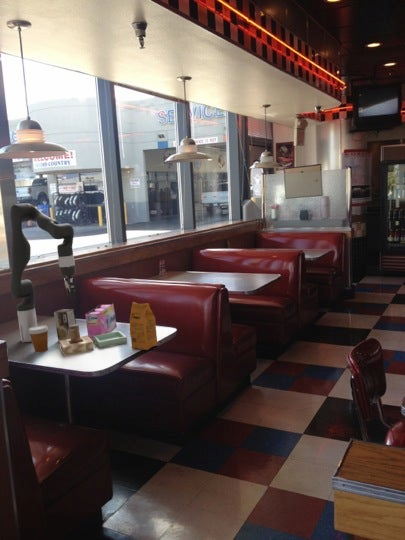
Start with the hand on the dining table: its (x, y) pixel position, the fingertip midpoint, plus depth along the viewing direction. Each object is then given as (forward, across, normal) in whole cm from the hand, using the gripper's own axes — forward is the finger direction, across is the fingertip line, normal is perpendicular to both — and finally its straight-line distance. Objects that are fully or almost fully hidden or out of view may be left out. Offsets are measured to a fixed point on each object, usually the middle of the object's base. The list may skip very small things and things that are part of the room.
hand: (71, 297), depth 244 cm
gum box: (+26, -22, +18) cm, 38 cm away
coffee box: (+26, -21, -2) cm, 34 cm away
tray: (+26, 0, +16) cm, 31 cm away
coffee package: (+26, +20, +28) cm, 44 cm away
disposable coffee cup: (+26, -10, -17) cm, 33 cm away
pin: (+26, 0, -1) cm, 26 cm away
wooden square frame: (+26, 0, -1) cm, 26 cm away
